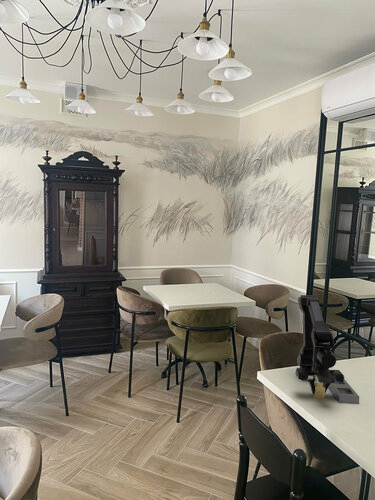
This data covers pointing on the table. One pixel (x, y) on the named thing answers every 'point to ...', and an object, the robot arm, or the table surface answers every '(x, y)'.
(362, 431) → the table surface
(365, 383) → the table surface
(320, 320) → the robot arm
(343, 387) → the grey slotted block
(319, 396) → the brass block
